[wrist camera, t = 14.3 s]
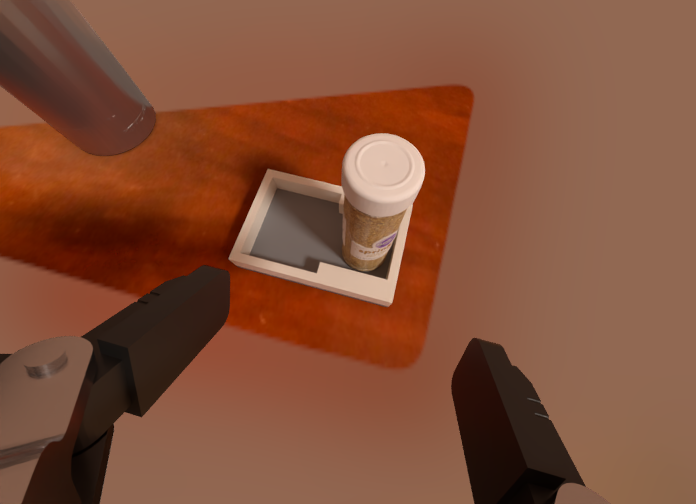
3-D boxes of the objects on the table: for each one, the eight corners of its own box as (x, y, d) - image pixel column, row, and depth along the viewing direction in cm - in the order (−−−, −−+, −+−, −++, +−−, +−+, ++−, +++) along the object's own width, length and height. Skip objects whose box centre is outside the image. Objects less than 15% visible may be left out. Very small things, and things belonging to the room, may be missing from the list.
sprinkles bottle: (365, 282, 26) (389, 217, 14) (331, 250, 27) (323, 163, 15) (396, 249, 27) (444, 162, 15) (363, 220, 28) (380, 116, 16)
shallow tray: (237, 267, 27) (228, 259, 25) (273, 182, 30) (267, 168, 28) (387, 307, 26) (392, 302, 24) (407, 215, 29) (413, 204, 27)
